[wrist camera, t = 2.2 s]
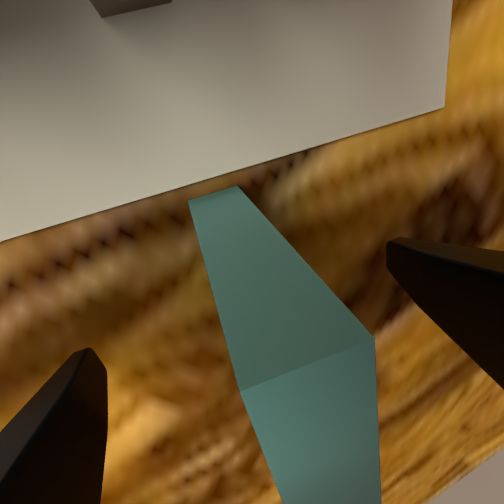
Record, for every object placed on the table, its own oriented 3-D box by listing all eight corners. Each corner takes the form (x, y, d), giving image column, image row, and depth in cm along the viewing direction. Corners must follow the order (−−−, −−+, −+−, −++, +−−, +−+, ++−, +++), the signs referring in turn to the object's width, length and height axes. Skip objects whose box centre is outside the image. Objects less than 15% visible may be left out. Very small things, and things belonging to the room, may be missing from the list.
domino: (236, 185, 11) (374, 337, 4) (264, 291, 13) (381, 506, 6) (187, 200, 11) (239, 391, 4) (224, 306, 13) (299, 545, 6)
